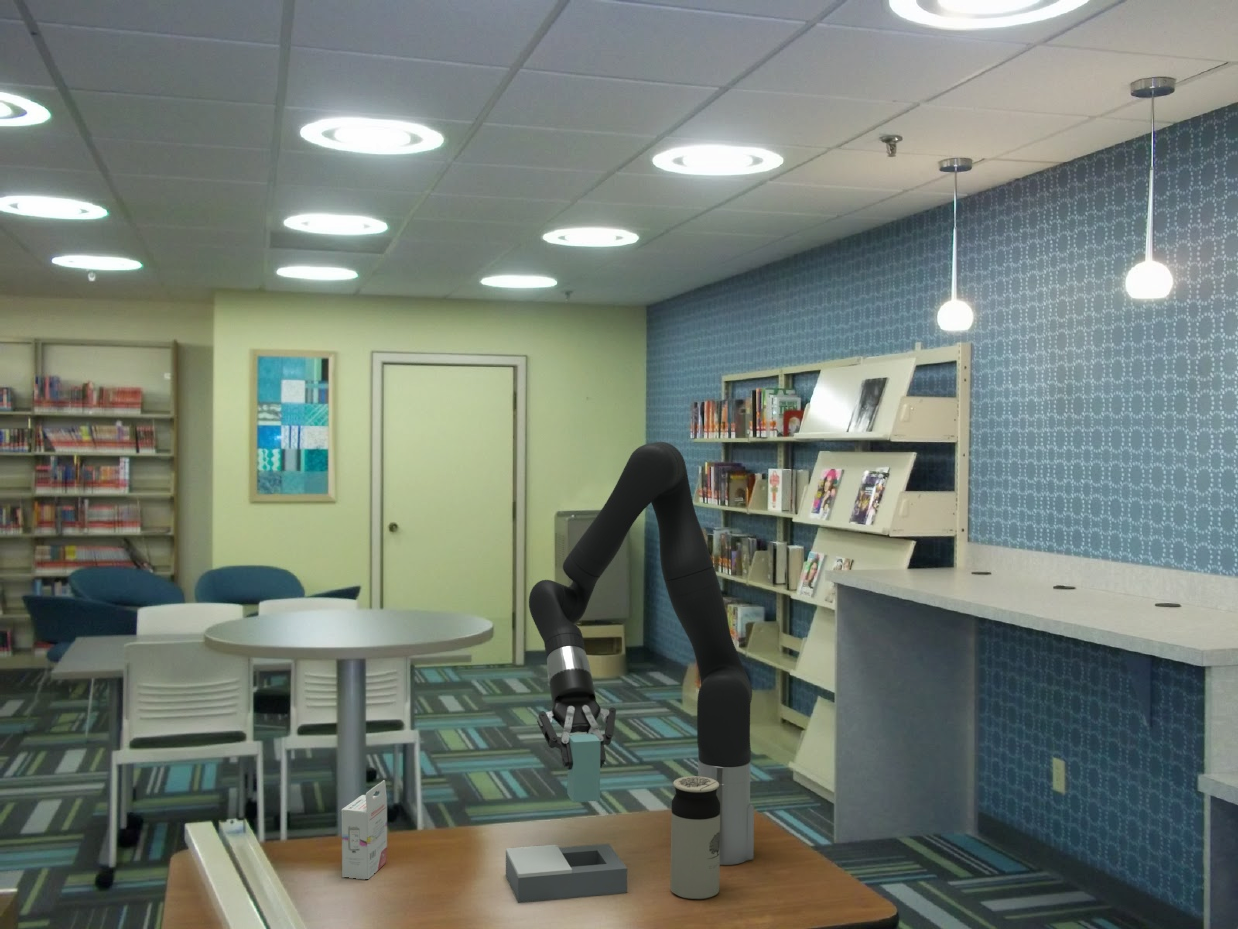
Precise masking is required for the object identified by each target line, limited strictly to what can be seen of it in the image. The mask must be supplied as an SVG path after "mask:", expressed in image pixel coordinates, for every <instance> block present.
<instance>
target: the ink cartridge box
mask: <svg viewBox="0 0 1238 929" xmlns="http://www.w3.org/2000/svg"><path fill="white" fill-rule="evenodd" d="M376 792H377V793H378V794H377V795H375V794H376ZM387 862H388V797H387V786H386V780H385V779H383V780H382V781H381V782H379V783H378V784H376V785H375V786H373V787H372V788H371V789H369V790H368V791H366V793H365V794H361V795H360V796H358V797H357V798H356V799H355V800H353V801H352V802H350V803H349V804H347V805H346V806H344V807H343V808H341V863H342V864H341V865H342V866H341V869H342V871H341V875H342V876H341V877H349V878H348V879H353V878H356V879H355V880H365V879H368V880H369V879H370V878H372V877H373V876H374V873H375V874H376V873H377V872H378V871H379V870H380V869H382V867H384V866H385V865H386V863H387Z"/></svg>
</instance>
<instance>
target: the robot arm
mask: <svg viewBox="0 0 1238 929" xmlns="http://www.w3.org/2000/svg"><path fill="white" fill-rule="evenodd" d="M691 490H692V489H691V487H690V480H689V475H688V470H687V465H686V461H685V459H684V457H683V455H682V453H681V451H679V450H678V448H677V447H676V446H674V445H672V444H671V443H668V442H665V441H656V442H655V441H654V442H650V443H645V444H642V445H641V446H639V447H637V448H636V449H634V451H633V452H632V453H631V454H630V457H628V460H627V461H626V464H625V466H624V467H623V470H622V472H621V474H620V476H619V479H618V480H617V482H616V485H615V486H614V488H613V490H612V492H611V493H610V496H609V497H608V499H607V500H606V502H605V504H604V505H603V506H602V508H601V509H600V512H598V514H597V515H596V517H595V518H594V520H593V521H592V522H591V523H590V525H589V526H588V528H587V529H586V531H585V532H584V533H583V534H582V535H581V537H580V538H579V540H578V541H577V543H575V545H574V547H573V548H572V549H571V551H570V553H568V555H567V557H566V558H565V559H564V561H563V563H562V571H563V572H564V574H565V575H566V577H568V578H569V579H570V580H571V581H572V582H571V584H570V585H569V586H567V585H564V584H562V583H559V582H557V581H554V580H550V579H542V580H540V581H538V582H536V583H535V585H533V586H532V588H531V590H530V593H529V597H528V608H529V612H530V616H531V619H532V620H533V622H534V625H535V626H536V628H537V631H538V633H539V635H540V637H541V640H542V641H543V643H544V650H545V656H546V663H547V664H546V666H547V667H546V670H547V671H546V672H547V682H548V685H549V692H550V696H551V702H552V709H551V710H550V711H547V712H545V710H540V711H539V712H538V716H537V721H536V722H537V723H536V724H537V725H538V726H539V729H540V731H541V733H542V735H543V737H544V740H545V741H546V744H547V745H548V747H549V748H551V749H554V748H556V749H559V751H560V756H561V761H562V762H561V763H562V765H563V767H566V770H567V771H568V770H571V769H572V766H573V759H572V753H571V747H570V744H569V743H568V742H569V736H570V735H571V734H574V733H578V732H579V733H585V734H594V735H596V737H597V738H598V739H599V740H600V769H601V768H602V767H603V765H605V762H606V758H607V756H606V755H607V754H606V749H605V745H606V746H609V745H610V744H611V742H612V739H613V737H614V730H615V722H616V717H617V716H616V714H617V709H616V708H615V707H610V708H609V709H606V708H601V706H600V704H598V702H597V697H596V693H595V688H594V682H593V676H592V670H591V664H590V662H589V659H588V656H587V652H586V647H585V641H584V636H583V634H582V631H581V629H580V627H578V625H576V623H578V622H579V621H580V620H581V619H582V617H584V614H585V612H586V610H587V608H588V605H589V602H590V599H591V596H592V594H593V592H594V590H595V589H594V588H595V586H596V583H597V582H598V580H599V579H600V577H601V576H602V575H603V573H604V572H605V571H606V570H607V568H608V566H610V564H611V563H612V562H613V560H614V558H615V557H616V555H617V554H618V552H619V550H620V548H621V547H622V545H623V542H624V541H625V538H626V537H627V535H628V533H629V531H630V530H631V527H633V525H634V523H635V521H636V520H637V518H639V516H640V515H641V514H642V512H643V511H644V510H646V508H647V507H648V506H649V505H651V506H652V508H653V512H654V514H655V517H656V521H657V526H658V535H659V536H658V538H659V540H658V541H659V558H660V566H661V567H660V569H661V573H662V576H663V580H664V584H665V586H666V587H665V588H666V590H667V595H668V597H669V601H670V603H671V606H672V609H673V610H674V612H675V615H676V617H677V619H678V621H679V623H680V625H681V627H682V629H683V630H684V632H685V634H686V636H687V638H688V640H689V642H690V645H691V646H692V649H693V652H694V656H695V660H696V665H697V669H698V674H699V680H700V688H699V689H698V694H697V702H696V704H697V705H696V707H697V709H696V710H697V711H696V715H697V716H696V730H697V731H696V733H697V734H696V736H697V737H696V741H697V749H698V750H697V751H698V760H697V762H698V764H697V765H698V768H697V769H698V770H697V776H698V777H707V778H711V779H714V780H716V781H717V782H718V783H719V787H718V788H717V793H716V795H717V797H718V799H719V801H720V863H719V866H721V865H722V866H725V865H726V866H729V865H739V864H741V863H744V862H747V861H751V860H752V861H753V860H754V843H755V841H754V840H755V836H754V834H755V831H754V829H755V828H754V826H755V824H754V822H755V820H754V819H755V807H754V805H753V804H752V803H751V757H752V756H751V752H752V751H751V750H752V748H751V703H752V699H753V688H752V683H751V681H750V679H749V676H748V675H747V673H746V670H745V668H744V665H743V662H742V661H741V659H740V656H739V654H738V651H737V649H736V648H737V647H736V646H735V643H734V640H733V637H732V633H731V631H730V626H729V625H730V624H729V620H728V614H727V609H726V606H725V601H724V597H723V594H722V590H721V585H720V583H719V579H718V575H717V572H716V569H715V566H714V563H713V560H712V556H711V553H710V550H709V548H708V544H707V542H706V538H705V535H704V532H703V530H702V528H701V525H700V522H699V519H698V516H697V514H696V513H697V512H696V510H695V504H694V502H693V496H692V492H691ZM599 716H600V717H601V719H602V720H601V721H602V722H603V723H604V724H605V726H604V728H605V729H604V734H602V732H601V731H600V728H599V727H600V726H599V724H598V722H597V719H599ZM553 720H554V721H555V722H556V723H558V724H559V726H560V727H561V728H562V729H561V730H562V732H561V736H558V735H557V733H556V731H555V728H554V727H553V725H552V722H553Z"/></svg>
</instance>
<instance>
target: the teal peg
mask: <svg viewBox="0 0 1238 929" xmlns="http://www.w3.org/2000/svg"><path fill="white" fill-rule="evenodd" d="M568 743H569V744H570V747H571V753H572V759H573V766H572V769H571V770H567V782H566V783H567V788H566V789H567V791H566V793H567V795H568V797H569V799H570V800H571V802H572V803H575V804H576V803H587V802H598V801H601V768H600V740H599V739H598V738H597V737H596V735H594V734H586V733H585V734H573V735H572V734H570V736H569V742H568Z"/></svg>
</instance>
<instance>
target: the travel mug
mask: <svg viewBox="0 0 1238 929" xmlns="http://www.w3.org/2000/svg"><path fill="white" fill-rule="evenodd" d="M672 785H673V786H674V790H675V794H674V796H673V798H672V800H671V812H670V813H671V815H670V816H671V818H670V819H671V821H670V822H671V827H670V828H671V829H670V831H671V832H670V891H671V892H672V893H673V894H675V895H676V896H678V897H680V898H684V899H687V900H705V899H708V898H712V897H714V896H716V895H718V894H719V892H720V865H719V863H720V801H719V799H718V797H717V795H716V793H717V788H718V787H719V783H718V782H717V781H716V780H714V779H711V778H707V777H698V775H697V776H695V775H694V776H683V777H679V778H676V779H675V780H674V781H673V784H672Z"/></svg>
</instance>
